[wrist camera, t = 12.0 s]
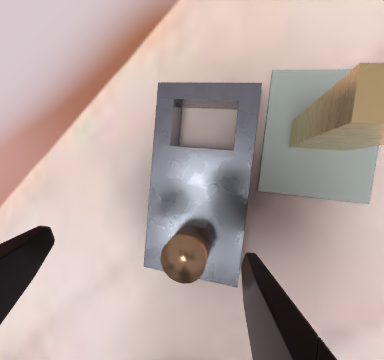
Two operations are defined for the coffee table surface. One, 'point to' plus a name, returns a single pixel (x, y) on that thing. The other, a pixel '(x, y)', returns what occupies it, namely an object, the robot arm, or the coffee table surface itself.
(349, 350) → the coffee table surface
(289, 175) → the bench mat
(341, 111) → the lever cap
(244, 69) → the coffee table surface
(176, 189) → the plane body
